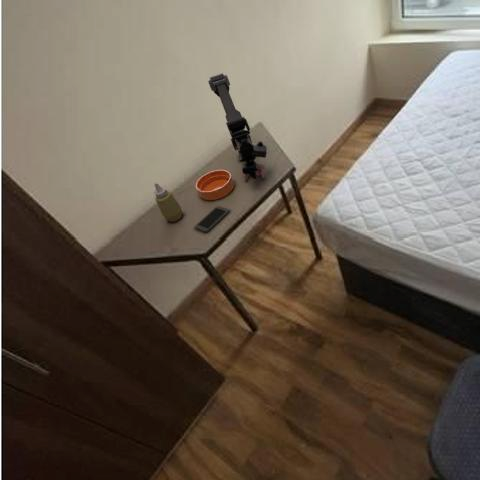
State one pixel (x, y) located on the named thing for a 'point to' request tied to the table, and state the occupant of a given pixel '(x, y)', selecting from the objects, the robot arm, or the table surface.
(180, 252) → the table surface
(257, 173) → the video game controller
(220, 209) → the cell phone
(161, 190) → the squeeze bottle
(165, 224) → the table surface
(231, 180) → the orange mixing bowl
